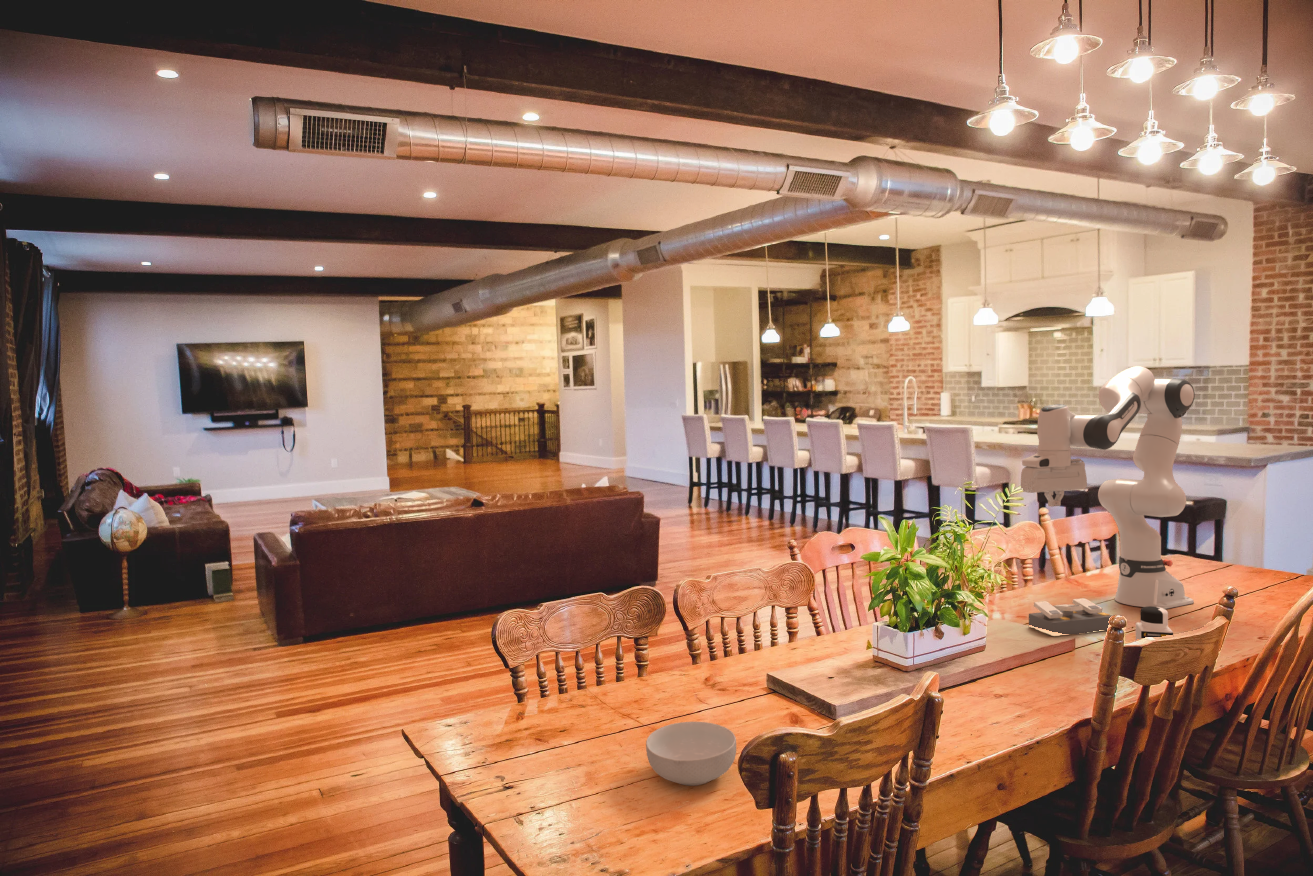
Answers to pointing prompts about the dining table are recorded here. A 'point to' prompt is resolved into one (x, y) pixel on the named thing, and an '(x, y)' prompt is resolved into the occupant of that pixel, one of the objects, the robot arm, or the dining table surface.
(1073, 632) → the switch unit
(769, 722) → the dining table surface
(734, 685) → the dining table surface
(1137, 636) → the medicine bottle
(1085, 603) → the rocker
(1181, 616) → the dining table surface
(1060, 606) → the rocker
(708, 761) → the cereal bowl
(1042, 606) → the rocker
